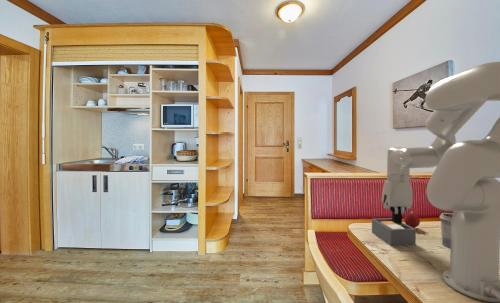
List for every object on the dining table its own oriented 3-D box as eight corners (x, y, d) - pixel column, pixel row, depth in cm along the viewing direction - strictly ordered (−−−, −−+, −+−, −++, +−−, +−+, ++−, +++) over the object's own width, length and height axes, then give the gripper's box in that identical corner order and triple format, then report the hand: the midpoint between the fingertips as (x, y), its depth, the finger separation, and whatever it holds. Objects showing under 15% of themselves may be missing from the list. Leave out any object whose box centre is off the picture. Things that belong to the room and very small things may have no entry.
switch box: (415, 244, 86) (415, 229, 86) (390, 245, 86) (390, 230, 86) (393, 231, 99) (393, 218, 98) (371, 232, 98) (371, 218, 98)
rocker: (405, 231, 88) (405, 228, 88) (393, 232, 88) (393, 228, 88) (391, 224, 96) (391, 221, 96) (380, 224, 96) (380, 221, 96)
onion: (414, 232, 98) (414, 214, 98) (401, 227, 103) (401, 210, 103) (422, 229, 100) (422, 212, 100) (408, 225, 106) (409, 209, 105)
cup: (467, 251, 81) (468, 219, 80) (446, 249, 82) (447, 218, 81) (453, 242, 88) (454, 212, 87) (434, 241, 89) (435, 212, 88)
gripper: (409, 176, 92) (408, 218, 93) (374, 176, 92) (373, 219, 93) (423, 179, 85) (422, 225, 86) (385, 180, 84) (385, 226, 85)
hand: (397, 222), depth 89 cm, fingers closed
